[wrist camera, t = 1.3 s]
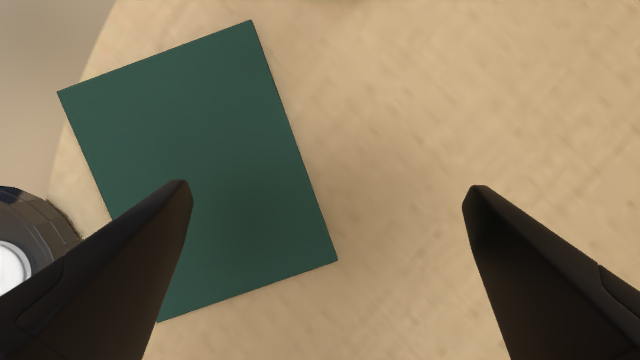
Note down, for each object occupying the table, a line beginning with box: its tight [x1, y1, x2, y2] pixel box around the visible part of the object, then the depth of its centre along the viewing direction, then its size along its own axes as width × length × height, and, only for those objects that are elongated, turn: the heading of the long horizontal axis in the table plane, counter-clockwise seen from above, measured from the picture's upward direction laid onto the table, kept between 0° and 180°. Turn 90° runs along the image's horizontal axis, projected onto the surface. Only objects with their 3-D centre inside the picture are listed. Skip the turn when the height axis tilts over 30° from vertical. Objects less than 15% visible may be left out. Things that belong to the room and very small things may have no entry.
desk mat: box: [57, 20, 338, 323], centre depth 24 cm, size 20×16×1 cm
